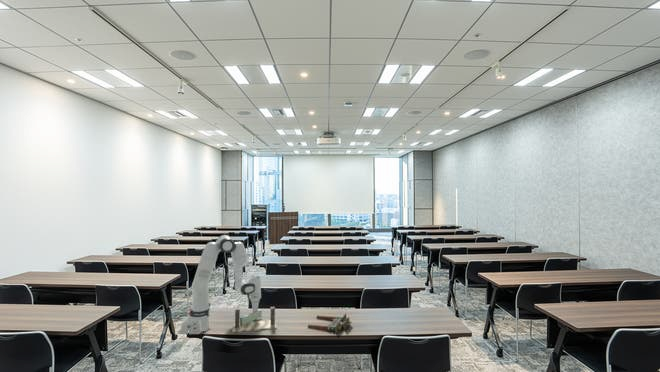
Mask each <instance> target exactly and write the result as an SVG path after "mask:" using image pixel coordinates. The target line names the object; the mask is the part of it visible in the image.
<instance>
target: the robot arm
mask: <svg viewBox="0 0 660 372" xmlns="http://www.w3.org/2000/svg"><path fill="white" fill-rule="evenodd" d="M220 252H224V253H230V255H231V261H232V266H233V275H234V282H233V289H234V291H235V292H237V293H240V294H241V295H242V296H243V295H244V296H247V295H249V299H250V302H251V307H252V308H251V309H252V313H253V312H257V311H258V310H259V303H260V300H261V299H262V289H261V287H262V280H261V277H260V276H259V275H251V276H250V277H249V278H248V279H247V280H245V278H244V276H243V267H245V266H246V265H247V264H248V256H247V250H246V248H245V245H244V243H243V242H241V241H234V240H233V238H232V237H231V236H230V235H228V234H221V235H219V237H217V238H216V239H215V240H214V241H210V242H209V241H208V242H207V244H205V246H204V248H203V250H202V253H201V256H200V259H199V262H198V266H197V269H196V271H195V274H194V277H193V281H192V284H191V291H192V292H191V293H192V294H191V296H192V307H191V308H190V309H189V313H188V314H189V315H187V316H186V317H185V318H184V319H183V320H182V322H181V324H180V326H179V327H178V328H177V330H176V334H177V335H200V334H201V332H202V333H204V332H206V331H208V329H209V330H210V329H211V327H212V326H211V322H210V305H209V304H210V299H209V298H210V297H209V293H210V292H209V289H210V288H209V285H210V279H211V278H212V275H213V271H214V268H215V266H216V262H217V260H218V255H220ZM188 331H189V334H187V333H188ZM203 331H204V332H203Z"/></svg>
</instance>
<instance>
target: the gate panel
mask: <svg viewBox="0 0 660 372" xmlns="http://www.w3.org/2000/svg"><path fill="white" fill-rule="evenodd" d="M262 313H263V310H262V309H259V308H258V311H257V312H253V311H252V312H251V313H249V314H246V315H244V316H242V317H240V326H243V325H245V324H247V323H249V322H253V321H256V320H258V319H259V318H262V317H263V316H262V315H263V314H262Z"/></svg>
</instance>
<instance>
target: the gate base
mask: <svg viewBox="0 0 660 372" xmlns="http://www.w3.org/2000/svg"><path fill="white" fill-rule="evenodd" d="M240 310H241V309H235V311H234V323H233V327H232V334H233V333H243V332H253V331H254V332H255V331H267V330H274V329H275V330H276V329H277V319H275V318H276V312H275V311H276V307H275V306H270V316H269V318H270V319H267V320H266V319H265V320H253V321H251V322H249V323H247V324H245V325H243V326H240V318H241V317H240V316H241V315H240V313H241V312H240Z"/></svg>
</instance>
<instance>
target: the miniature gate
mask: <svg viewBox="0 0 660 372" xmlns="http://www.w3.org/2000/svg"><path fill="white" fill-rule="evenodd" d="M317 318H320V319H319V320H324V319H326V321H332V322H331V324H330V323H329V324H328V325H321V324H320V325H318V324H317V325H316V324H308V325H307V328H309V329H314V328H315V330H323V331H334V332H335V333H334V334H335V335H338V333H339V331H341V330H342V329H343V332H346V330H347V329H348V328H350V325H351V324H352V321H350V316H348V317H347V313H345V314H344V315H343V316H328V315H316V319H317Z"/></svg>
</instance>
